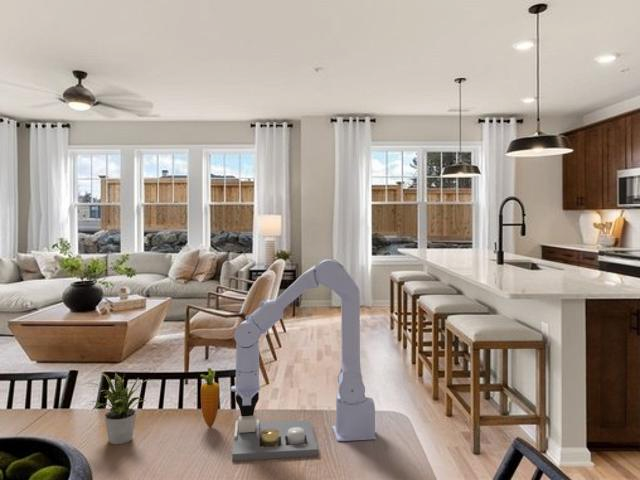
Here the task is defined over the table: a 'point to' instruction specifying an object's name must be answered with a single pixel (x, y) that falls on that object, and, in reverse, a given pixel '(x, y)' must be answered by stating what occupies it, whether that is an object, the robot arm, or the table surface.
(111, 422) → the house plant
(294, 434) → the white button
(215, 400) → the carrot
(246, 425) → the white block
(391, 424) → the table surface
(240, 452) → the control panel
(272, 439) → the brass button
